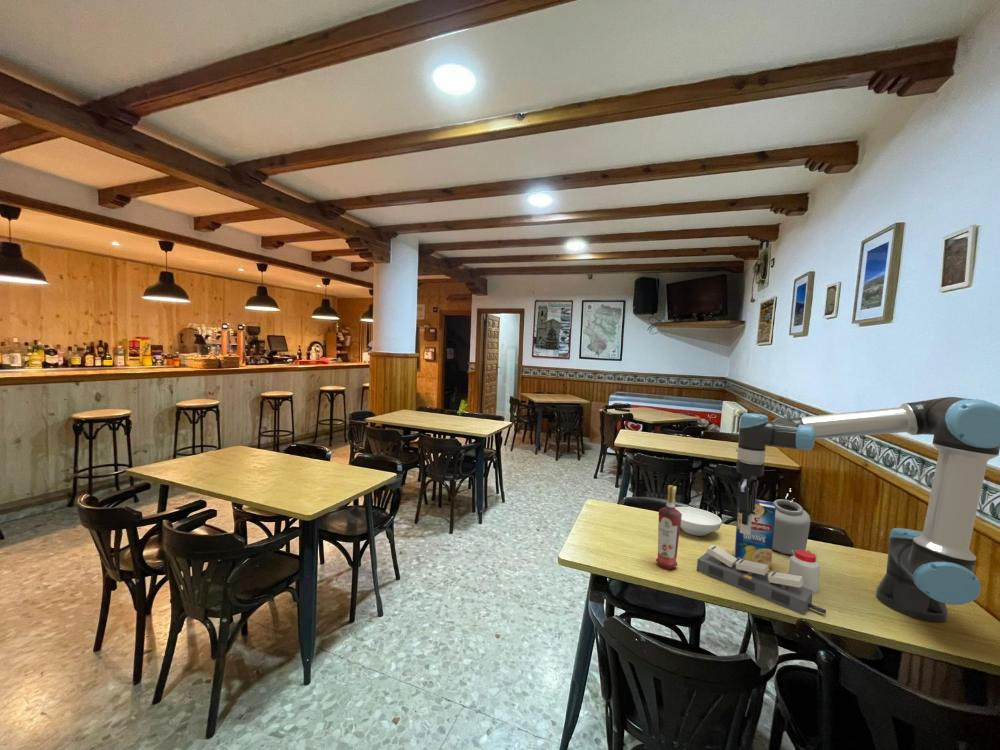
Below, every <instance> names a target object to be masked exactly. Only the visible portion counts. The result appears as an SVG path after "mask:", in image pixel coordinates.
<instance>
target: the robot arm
mask: <svg viewBox="0 0 1000 750" xmlns="http://www.w3.org/2000/svg"><path fill="white" fill-rule="evenodd" d="M738 427H739V428H738V443H737V448H736V450H735V451H736V452H737V456H736V457H737V459H738V460H737V461H736V472H737V473H738V474H741V475H742V476H741V478H740V481H739V484H738V485H737V489H738V498H739V511H738V510H737V513H741V522H740V533H743V534H746V535H750V534H751V521H752V514H754V515H755V512H753V511H754V510H755V502H756V499H757V494H758V493H757V492H758V489H759V488H758V487H759V485H760V481H759V480H757V477H758V478H759V477H763V476H764V472H765V465H764V463H765V461H766V446H769V447H771V446H772V447H778V448H785V449H786V448H787V449H794V450H798V451H799V450H805V451H811V450H812V449H813V448H814V447H815V441H816V440H820V439H821V440H822V439H832V438H846V437H847V438H848V437H857V436H858V437H860V436H871V435H872V436H873V435H884V434H885V435H887V434H897V433H907V434H909V435H911V436H916V435H917V436H919V435H928V436H929V435H933V439H932V443H931V444H932V445H933V446H934V448H935V449H936V450H937V451H938V455H937V461H936V463H935V464H936V465H935V470H934V475H933V479H932V480H933V481H932V484H931V488H930V489H931V490H930V495H929V499H928V500H929V501H928V505H927V509H926V510H927V511H926V515H925V518H924V519H925V520H924V524H923V525H924V526H923V529H922V531H919V530H915V529H909V528H903V527H893V528H892V529H891V530H890V532H889V536H888V539H889V540H888V550H887V551H888V552H887V553H888V554H887V559H886V560H887V562H886V573H885V574H884V576H883V578H882V579H881V581H880V583H879V584H878V586H877V588H876V593H875V594H876V598H877V599H878V600H879V601H880V602H881V603H882V604H884V605H885V606H886V607H888V608H891V610H892V609H893V610H894V611H897V612H899V613H901V614H903V615H906V616H909V617H912V618H915V619H918V620H923V621H926V622H932V623H945V622H947V621H948V615H949V614H948V613H949V612H948V607H947V605H951V606H952V605H953V606H960V605H964V604H969V603H971V602H974V601H975V600H976V599H978V597H979V596H980V594H981V591H982V586H981V582H980V580H979V578H978V576H977V575H976V574H975V573H974V572H975V568H976V562H977V556H976V555H975V554H974V553H973V551H971V550H970V546H971V540H972V535H973V531H974V527H975V521H976V518H977V514H978V513H977V512H978V508H979V505H980V504H979V503H980V499H981V493H982V488H983V484H984V480H985V479H984V478H985V474H986V471H987V466H988V462H989V461H990V460H992V459H994V458H996V457H998V456H999V455H1000V405H999V404H995V403H993V402H989V401H987V400H983V399H978V398H976V399H975V398H965V397H956V396H946V397H938V398H933V399H927V400H921V401H912V402H906V403H905V402H904V403H901V405H899V407H890V408H889V407H888V408H879V409H870V410H859V411H851V412H850V411H848V412H841V413H831V414H830V413H829V414H828V413H827V414H820V415H811V416H800V417H793V418H792V417H791V418H788V417H787V418H786V417H778V418H775V419H774V420H773V421H769V418H768V415H766V414H761V413H750V412H749V413H748V412H746V413H745V412H744V413H742V414H741V416H740V420H739V426H738ZM946 604H947V605H946Z"/></svg>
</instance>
